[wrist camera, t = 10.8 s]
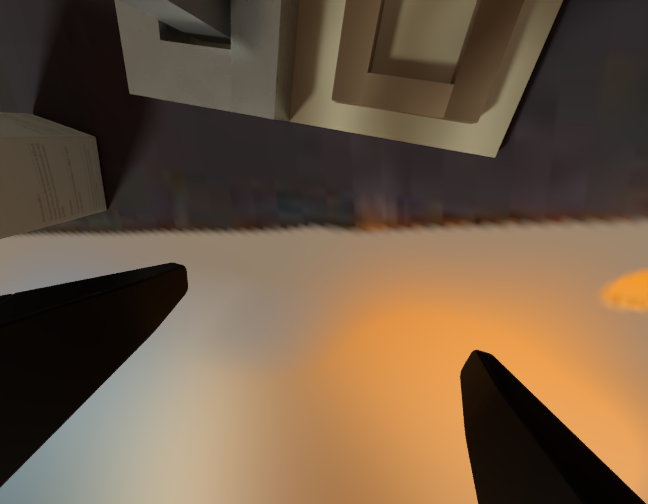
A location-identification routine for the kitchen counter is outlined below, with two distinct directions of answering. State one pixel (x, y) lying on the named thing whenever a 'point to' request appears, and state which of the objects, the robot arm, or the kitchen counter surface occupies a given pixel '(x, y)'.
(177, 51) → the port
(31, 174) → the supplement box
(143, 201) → the kitchen counter surface
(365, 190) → the kitchen counter surface
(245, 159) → the kitchen counter surface
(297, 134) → the kitchen counter surface
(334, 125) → the board
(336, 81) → the brown rectangular frame
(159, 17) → the plug
